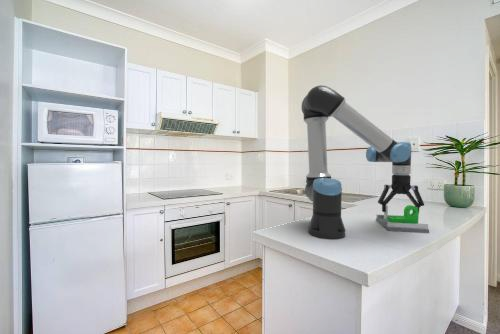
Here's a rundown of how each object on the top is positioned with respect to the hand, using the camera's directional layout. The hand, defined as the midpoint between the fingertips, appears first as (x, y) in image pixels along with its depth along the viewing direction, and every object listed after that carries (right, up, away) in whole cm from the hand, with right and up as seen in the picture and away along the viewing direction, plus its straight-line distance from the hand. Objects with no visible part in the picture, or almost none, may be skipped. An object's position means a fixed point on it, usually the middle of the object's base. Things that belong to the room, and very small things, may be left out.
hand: (400, 219), depth 113 cm
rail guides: (0, -2, 0) cm, 2 cm away
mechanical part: (0, -1, -2) cm, 2 cm away
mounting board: (0, -3, 0) cm, 3 cm away
